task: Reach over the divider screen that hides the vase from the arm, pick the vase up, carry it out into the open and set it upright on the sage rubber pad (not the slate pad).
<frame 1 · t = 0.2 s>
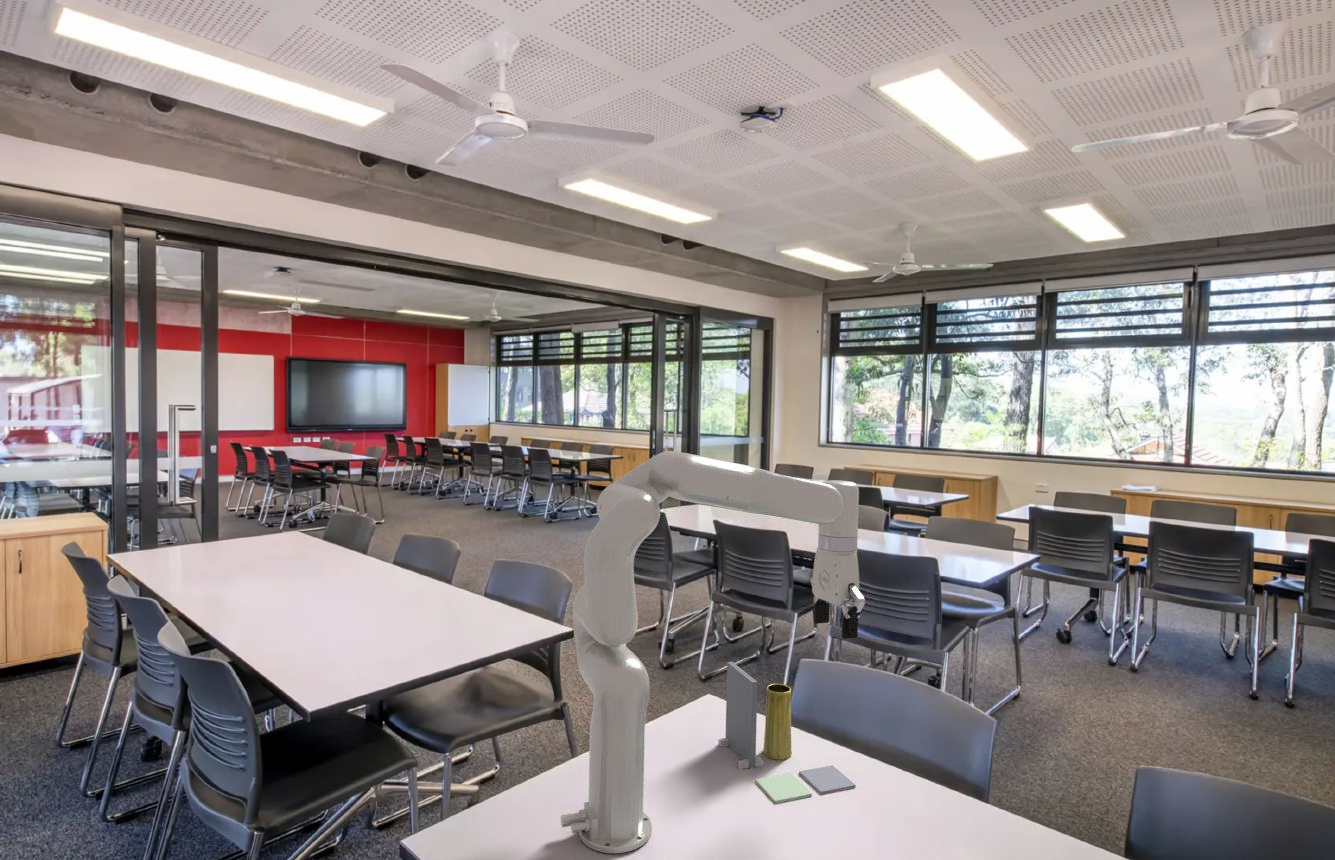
hand: (835, 629, 136), 31 cm above the table, tool pointing down, fingers open, 9 cm apart
screen: (739, 754, 149), on the table
pad slate: (826, 780, 139), on the table
pad sage: (783, 788, 135), on the table
vase: (777, 753, 150), on the table
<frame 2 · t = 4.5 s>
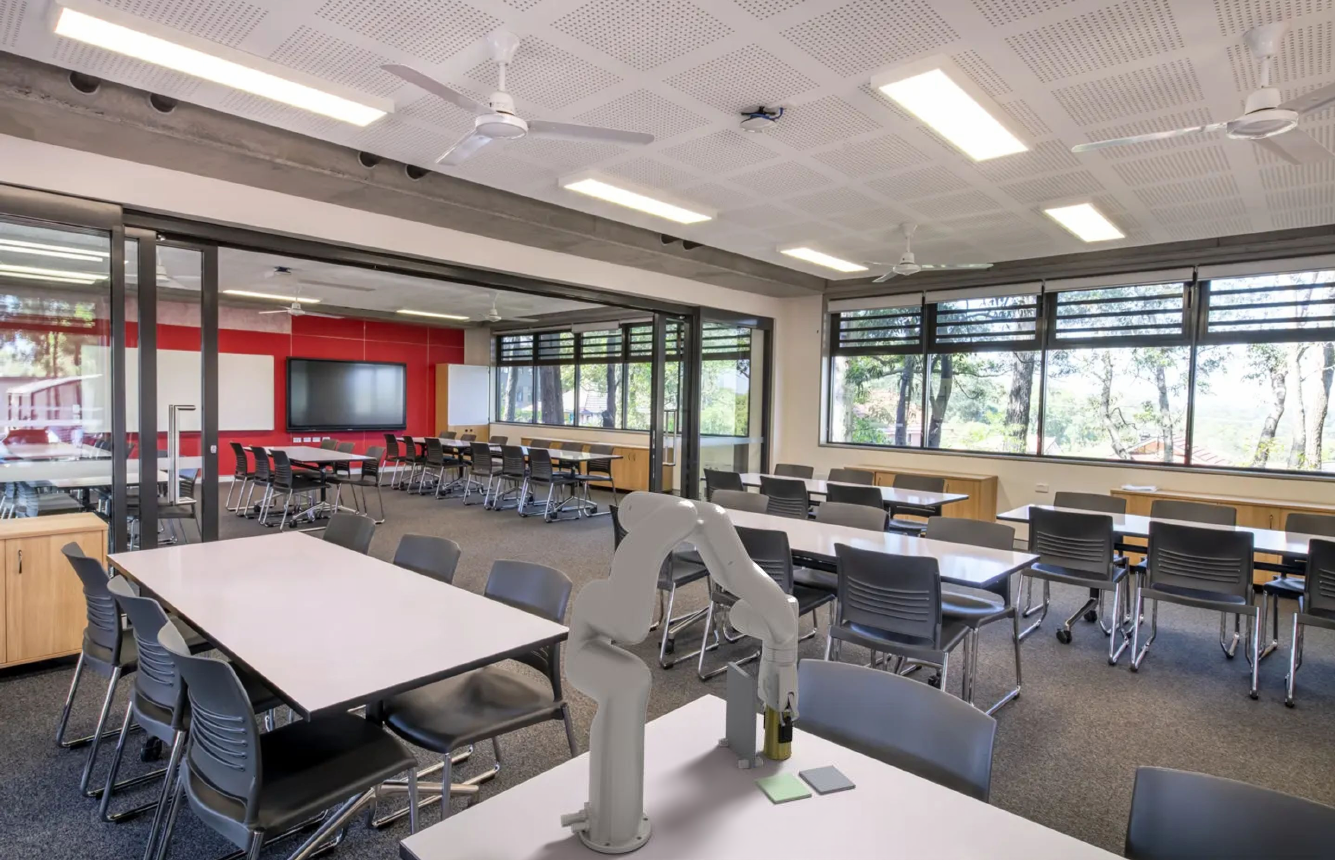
hand: (777, 734, 150), 4 cm above the table, tool pointing down, fingers closed on vase, 5 cm apart
vase: (777, 753, 150), on the table, touching gripper
when the fingers open (6 cm above the table, at t = 12.4 s): vase drops 1 cm, resting on pad sage.
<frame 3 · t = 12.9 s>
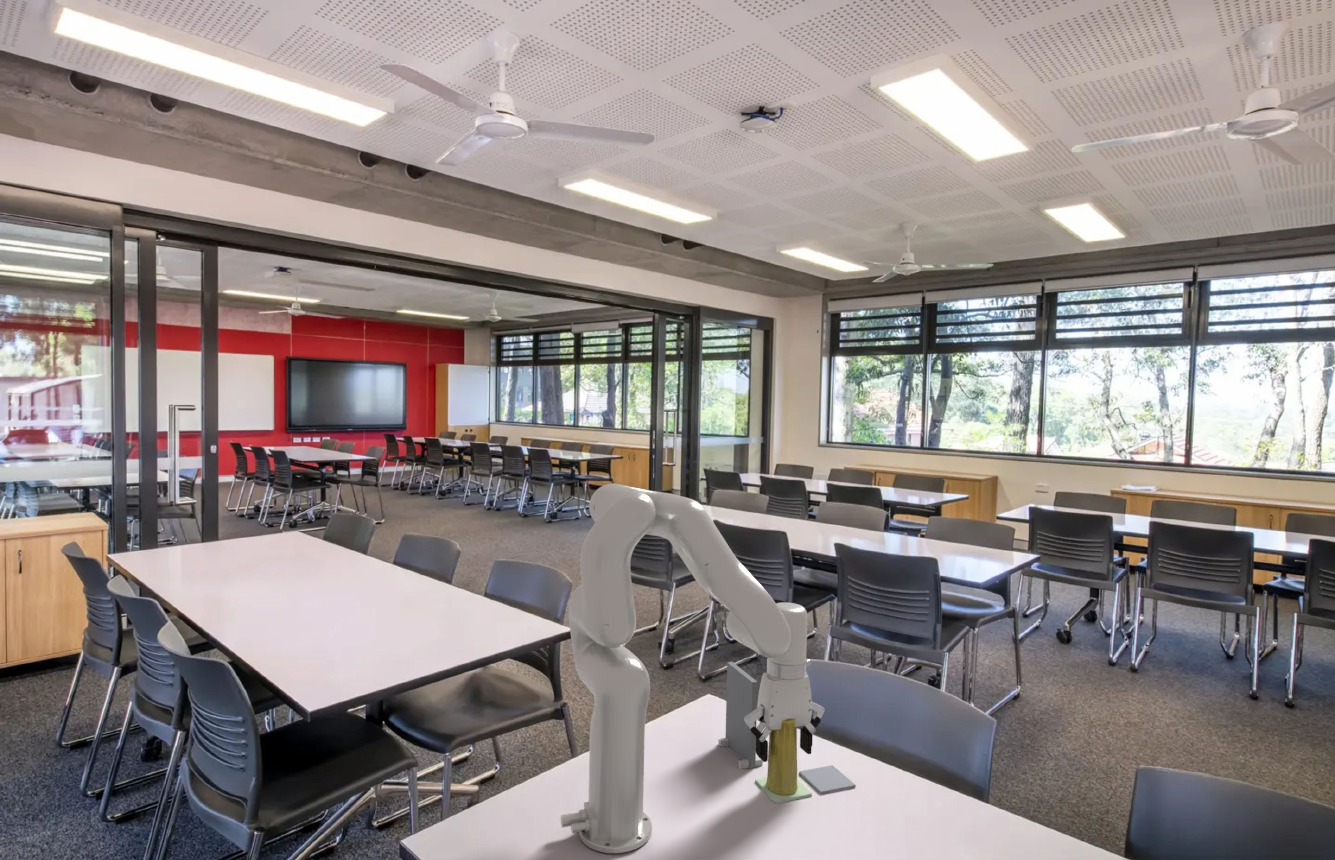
hand: (784, 754, 135), 7 cm above the table, tool pointing down, fingers open, 9 cm apart
vase: (781, 787, 135), resting on pad sage
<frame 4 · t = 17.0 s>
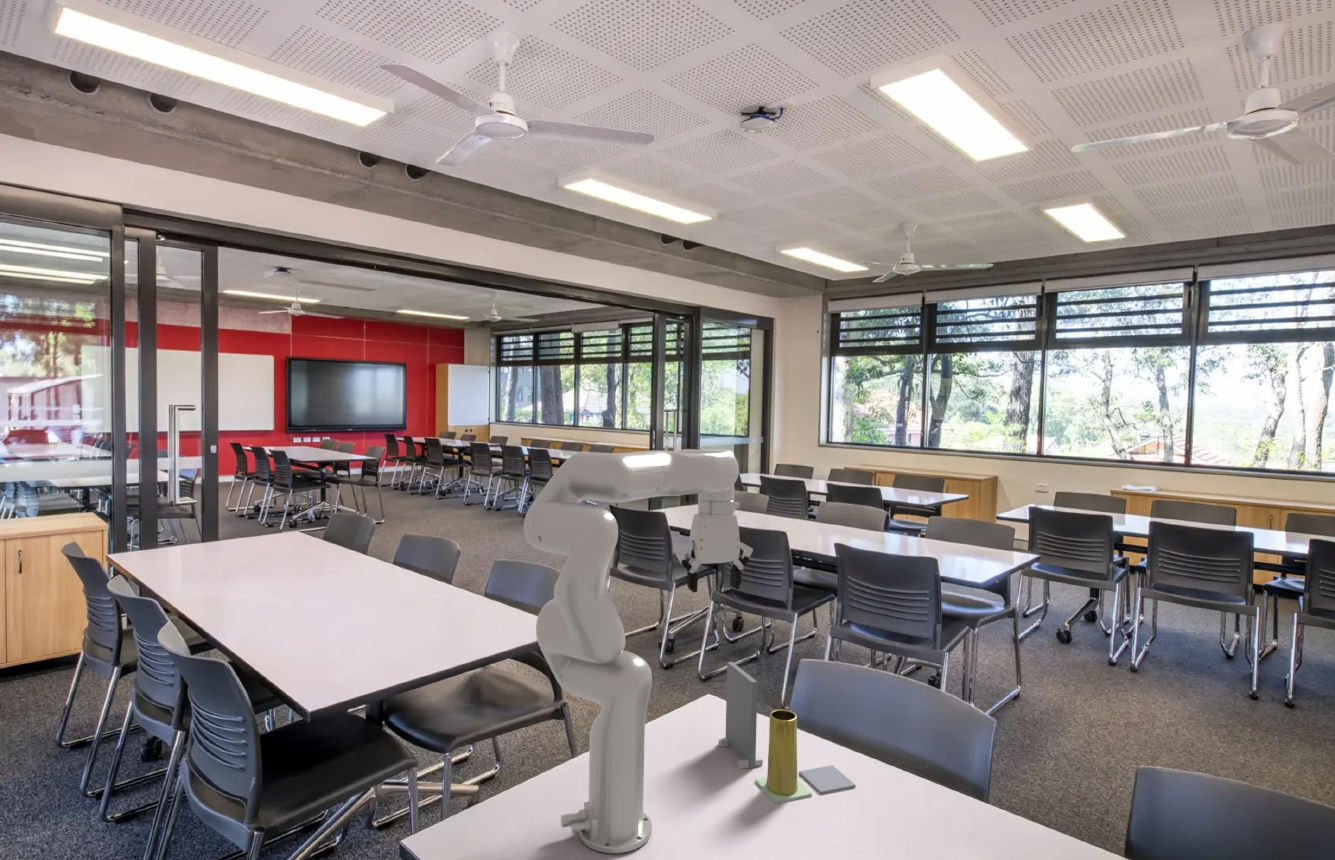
hand: (714, 589, 145), 36 cm above the table, tool pointing down, fingers open, 9 cm apart
nothing on the table moved.
at the end: vase inside the target area on the pad sage (0.4 cm from its centre), point 0.3 cm above the pad sage's base; vase tilted 0°; the gripper is holding nothing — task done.
